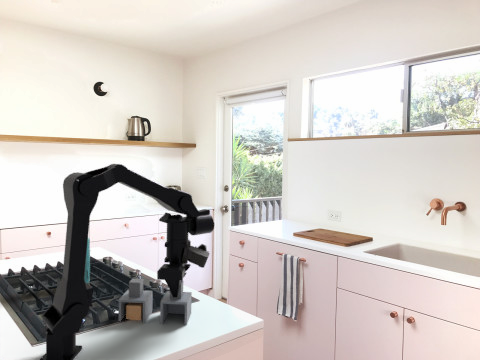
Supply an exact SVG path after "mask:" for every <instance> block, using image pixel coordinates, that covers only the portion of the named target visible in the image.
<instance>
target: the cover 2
mask: <svg viewBox="0 0 480 360" xmlns="http://www.w3.org/2000/svg"><path fill="white" fill-rule="evenodd" d="M192 295H193V294H192V292H190V291H184V279H183V280H181V281H180V286H179V292H178V296H177V297H173V296H172V294H171V291H170V290H169V291H168V290H167V291H166V292H165V293H164V295H163V297H162V298H161V300H160V305H159V307H160V309H159V310H160V313H159V318H160V319H159V322H160V323H159V324H160V325H162V324H163V323H164V322H165V319H166V318H167V317H168V314H177V315H178V314H182V315H184V326H185V325H188V323H189V321H190V318H191V314H192V297H193V296H192Z"/></svg>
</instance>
